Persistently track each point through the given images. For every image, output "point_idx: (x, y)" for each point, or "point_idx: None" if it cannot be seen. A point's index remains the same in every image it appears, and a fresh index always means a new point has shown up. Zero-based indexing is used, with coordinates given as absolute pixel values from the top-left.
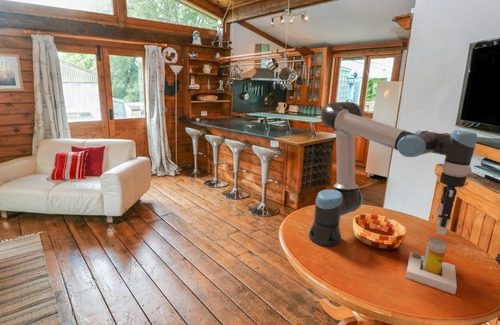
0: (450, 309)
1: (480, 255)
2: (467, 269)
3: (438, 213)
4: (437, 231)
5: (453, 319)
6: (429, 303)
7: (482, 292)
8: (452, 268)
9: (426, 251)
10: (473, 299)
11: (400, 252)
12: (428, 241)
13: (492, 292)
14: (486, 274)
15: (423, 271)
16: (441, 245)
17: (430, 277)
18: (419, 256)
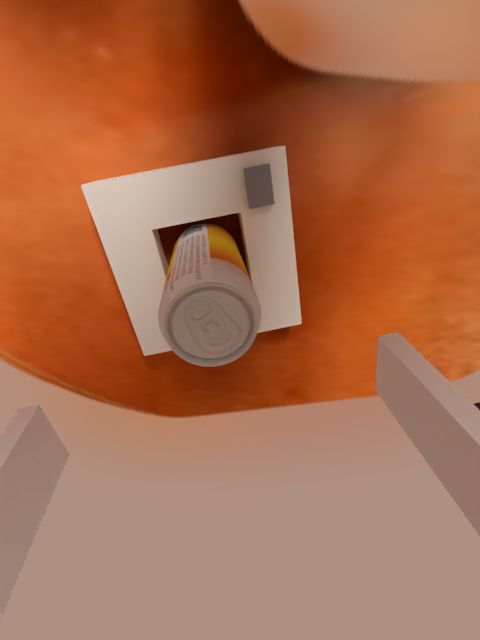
0: (50, 346)
1: (475, 352)
2: (344, 340)
3: (417, 384)
4: (11, 430)
5: (9, 361)
6: (13, 296)
7: (231, 388)
8: (269, 322)
9: (183, 257)
10: (170, 379)
11: (304, 89)
12: (192, 275)
13: (253, 404)
14: (350, 381)
15: (147, 245)
16: (178, 351)
17: (125, 278)
18: (255, 201)
